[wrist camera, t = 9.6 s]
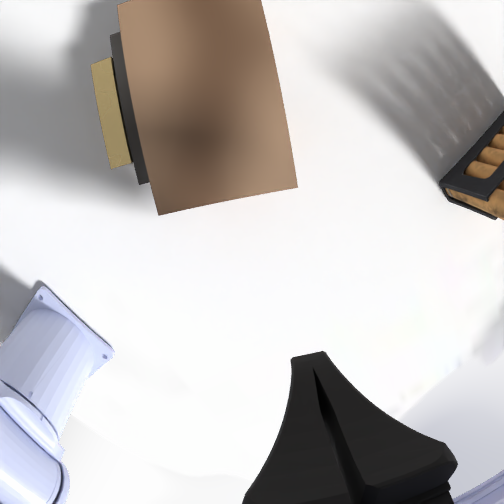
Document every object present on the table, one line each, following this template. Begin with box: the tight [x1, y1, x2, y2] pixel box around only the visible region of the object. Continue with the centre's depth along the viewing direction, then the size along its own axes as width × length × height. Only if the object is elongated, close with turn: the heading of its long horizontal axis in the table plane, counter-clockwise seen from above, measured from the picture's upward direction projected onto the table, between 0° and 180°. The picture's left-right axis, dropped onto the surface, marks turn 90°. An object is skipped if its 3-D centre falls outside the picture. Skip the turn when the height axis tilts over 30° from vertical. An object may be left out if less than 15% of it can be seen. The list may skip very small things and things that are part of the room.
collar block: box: [110, 0, 298, 215], centre depth 14 cm, size 6×10×6 cm, turn 10°
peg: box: [91, 57, 133, 169], centre depth 14 cm, size 8×5×5 cm, turn 100°
